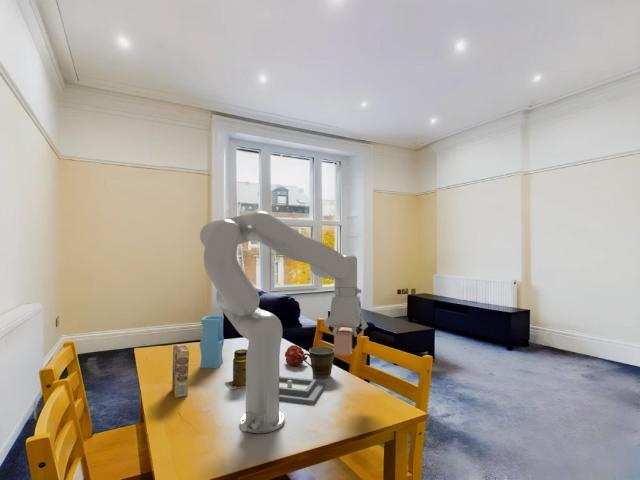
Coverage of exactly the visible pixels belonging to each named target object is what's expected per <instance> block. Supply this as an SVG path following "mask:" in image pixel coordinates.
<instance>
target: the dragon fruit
mask: <svg viewBox="0 0 640 480" xmlns="http://www.w3.org/2000/svg"><path fill="white" fill-rule="evenodd" d="M302 349H303V348H302V347H301V346H298V345H295V344H294V345H290V346H289V347H288V348H287V349H286V351H285V353H284V357H285V362H286V364H290V365H291V366H292V367H294V368H295V367H298V366H297V365H302V364H303V363H304V361H303V359H304V360H305V361H308V356H307V355H305V356H304V357H303V355H304V354H305V352H304V350H302ZM302 357H303V359H302Z"/></svg>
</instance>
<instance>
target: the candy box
mask: <svg viewBox="0 0 640 480" xmlns="http://www.w3.org/2000/svg"><path fill="white" fill-rule="evenodd" d="M172 349H173V350H172V375H171V376H172V380H171V381H172V382H171V383H172V384H171V389H172V392H173V395H174V397H175V399H177V398H183V397H188V391H189V362H190V350H189V348H188V347H187V345H186V344H177V345H173V347H172Z"/></svg>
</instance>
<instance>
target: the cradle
mask: <svg viewBox="0 0 640 480" xmlns="http://www.w3.org/2000/svg"><path fill="white" fill-rule="evenodd" d="M326 383H327V382H326V381H319V380H317V379H310V378H302V377H300V378H299V377H290V376H281V375H279V401H281V402H290V403H298V404H308V405H315V404H316V401H317V400H319V399H318V398H319V396H320V395H321V394H322V392H323V391H324V389H325V388H326Z"/></svg>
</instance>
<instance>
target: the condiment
mask: <svg viewBox="0 0 640 480" xmlns="http://www.w3.org/2000/svg"><path fill="white" fill-rule="evenodd" d="M247 350H248V349H245V348H244V349H243V348H242V349H236V350H235V351H234V352H233V353H234V354H233V360H232V380H231V381H225V382H224V384H225V385H226V386H227V388H229V389H230V390H231V391H232V390H236V389H240V388H246V355H247Z"/></svg>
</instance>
